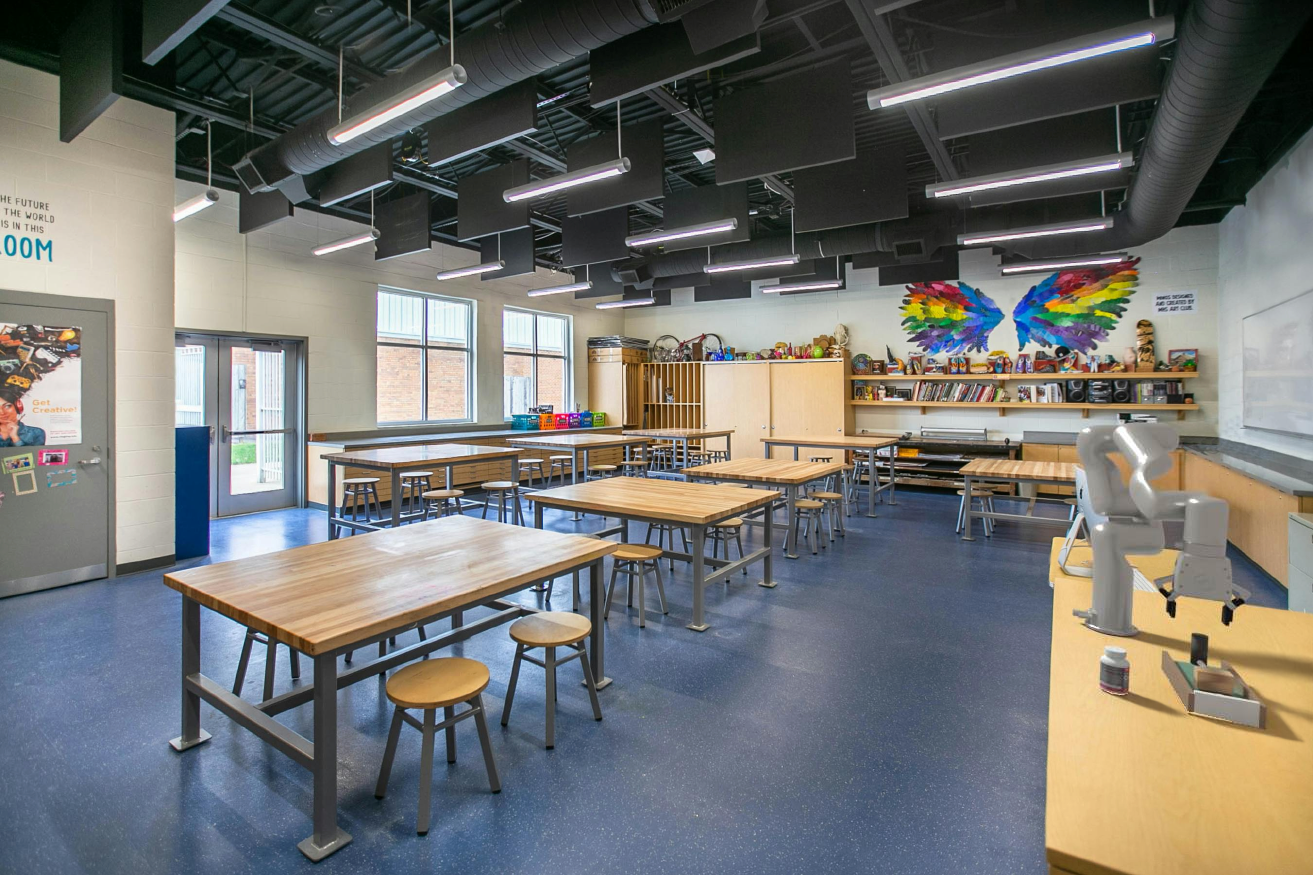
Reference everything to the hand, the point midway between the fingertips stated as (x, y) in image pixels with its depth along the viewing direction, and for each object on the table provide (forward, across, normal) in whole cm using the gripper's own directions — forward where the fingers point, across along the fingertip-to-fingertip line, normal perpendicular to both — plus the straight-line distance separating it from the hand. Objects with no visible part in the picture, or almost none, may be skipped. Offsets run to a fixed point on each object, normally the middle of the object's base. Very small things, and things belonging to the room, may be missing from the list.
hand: (1198, 619), depth 143 cm
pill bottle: (+14, -17, -18) cm, 29 cm away
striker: (+11, 0, -7) cm, 13 cm away
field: (+14, 0, -10) cm, 17 cm away
